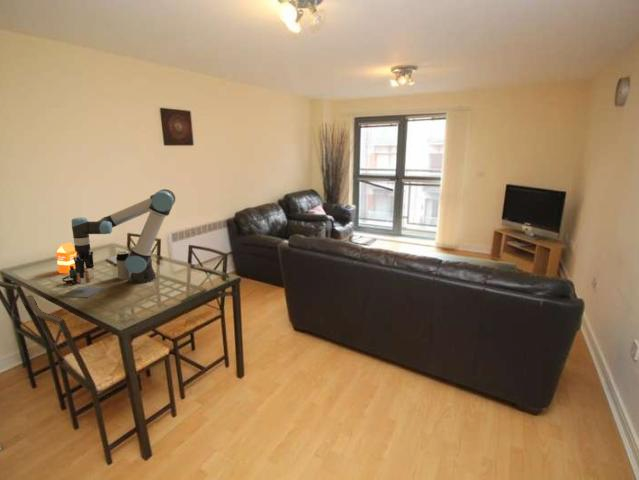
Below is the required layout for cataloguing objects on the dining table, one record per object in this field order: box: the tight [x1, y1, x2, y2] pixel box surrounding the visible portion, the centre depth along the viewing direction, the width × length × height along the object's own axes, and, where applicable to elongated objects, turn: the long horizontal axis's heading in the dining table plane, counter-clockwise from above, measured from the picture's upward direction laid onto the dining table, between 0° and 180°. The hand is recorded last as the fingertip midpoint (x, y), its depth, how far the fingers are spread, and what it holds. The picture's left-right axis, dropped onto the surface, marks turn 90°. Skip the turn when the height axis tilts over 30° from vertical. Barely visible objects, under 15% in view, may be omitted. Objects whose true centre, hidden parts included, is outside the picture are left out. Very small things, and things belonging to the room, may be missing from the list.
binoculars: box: [62, 266, 78, 286], centre depth 209 cm, size 9×11×10 cm
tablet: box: [106, 254, 117, 266], centre depth 257 cm, size 16×26×2 cm, turn 51°
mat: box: [60, 286, 105, 299], centre depth 197 cm, size 16×14×1 cm
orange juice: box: [55, 241, 77, 274], centre depth 229 cm, size 8×9×20 cm
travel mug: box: [115, 250, 132, 280], centre depth 221 cm, size 8×8×18 cm
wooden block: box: [77, 267, 95, 284], centre depth 199 cm, size 7×4×8 cm, turn 89°
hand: (86, 281), depth 200 cm, fingers closed on wooden block, 4 cm apart
